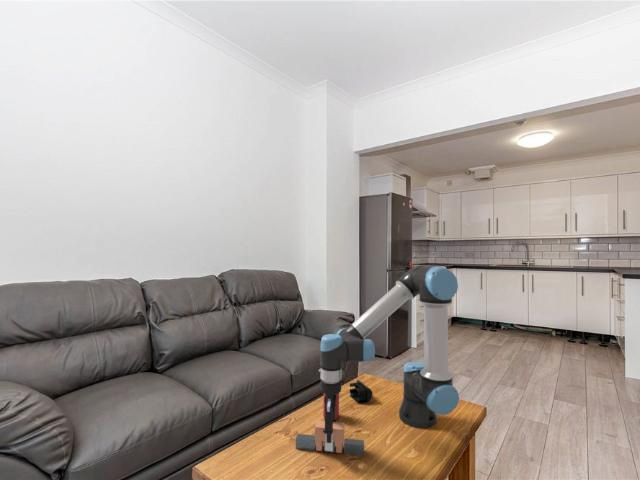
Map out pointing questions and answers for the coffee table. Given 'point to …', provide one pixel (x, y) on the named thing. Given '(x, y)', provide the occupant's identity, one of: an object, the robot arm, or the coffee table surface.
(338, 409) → the beer can
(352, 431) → the coffee table surface
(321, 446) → the salmon pink bridge block
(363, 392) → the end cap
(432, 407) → the robot arm
